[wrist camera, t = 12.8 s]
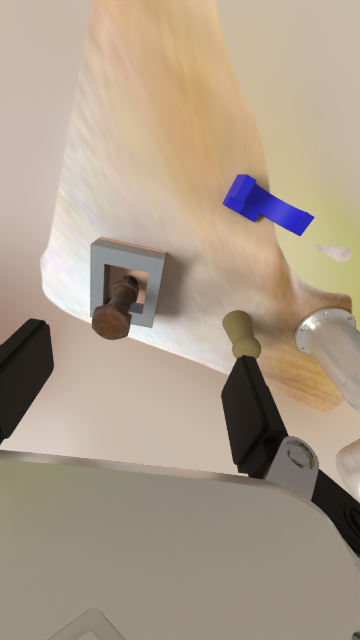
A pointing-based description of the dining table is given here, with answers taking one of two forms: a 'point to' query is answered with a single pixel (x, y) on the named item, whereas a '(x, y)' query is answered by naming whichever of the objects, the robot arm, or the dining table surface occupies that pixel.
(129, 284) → the bolt
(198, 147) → the dining table surface
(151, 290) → the socket block
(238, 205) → the cable clip
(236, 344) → the cork
